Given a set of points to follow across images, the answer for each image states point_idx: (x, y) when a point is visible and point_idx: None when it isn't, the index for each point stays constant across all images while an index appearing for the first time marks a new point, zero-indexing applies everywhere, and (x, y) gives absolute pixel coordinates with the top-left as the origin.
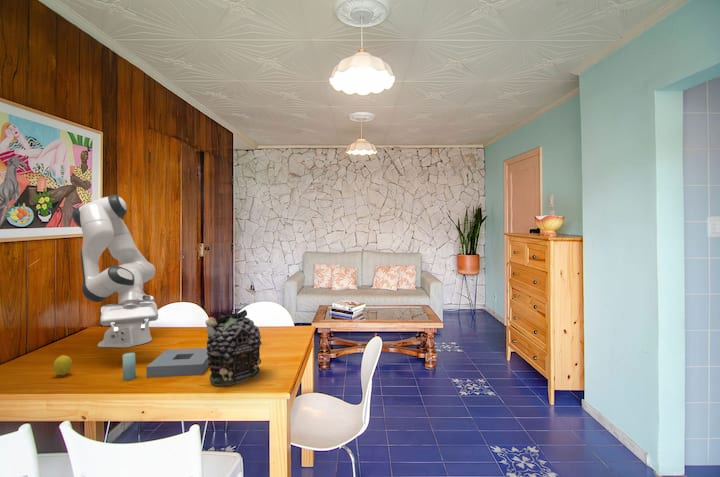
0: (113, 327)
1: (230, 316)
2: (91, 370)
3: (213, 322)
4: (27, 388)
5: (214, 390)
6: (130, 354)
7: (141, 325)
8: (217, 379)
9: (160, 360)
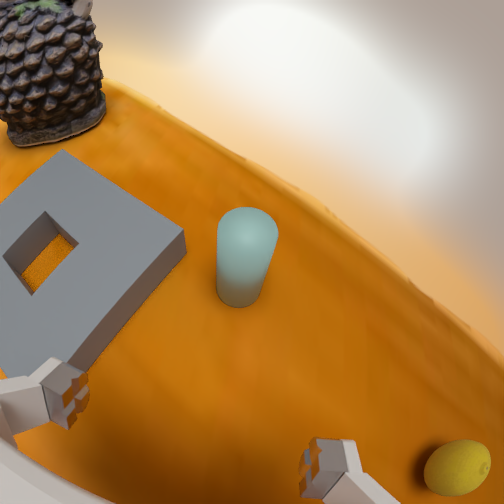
0: (365, 477)
1: None
2: None
3: None
4: (489, 392)
5: (121, 99)
6: (241, 224)
7: (63, 390)
8: (103, 94)
9: (110, 266)
